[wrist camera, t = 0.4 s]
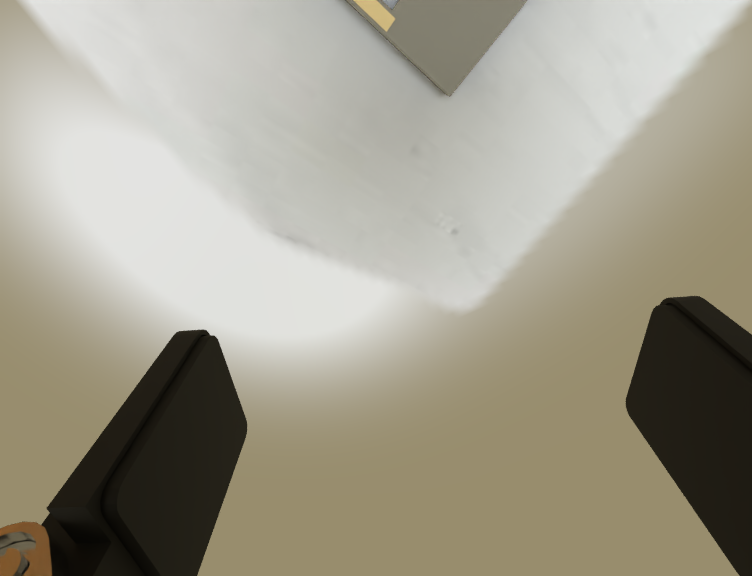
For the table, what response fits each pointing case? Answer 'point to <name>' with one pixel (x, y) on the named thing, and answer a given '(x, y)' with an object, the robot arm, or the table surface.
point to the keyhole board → (441, 32)
